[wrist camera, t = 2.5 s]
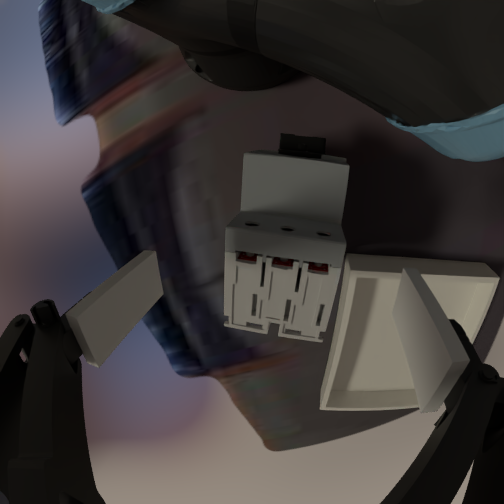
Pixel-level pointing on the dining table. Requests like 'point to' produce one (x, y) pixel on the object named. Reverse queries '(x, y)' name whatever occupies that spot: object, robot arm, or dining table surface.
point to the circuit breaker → (286, 239)
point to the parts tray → (393, 327)
